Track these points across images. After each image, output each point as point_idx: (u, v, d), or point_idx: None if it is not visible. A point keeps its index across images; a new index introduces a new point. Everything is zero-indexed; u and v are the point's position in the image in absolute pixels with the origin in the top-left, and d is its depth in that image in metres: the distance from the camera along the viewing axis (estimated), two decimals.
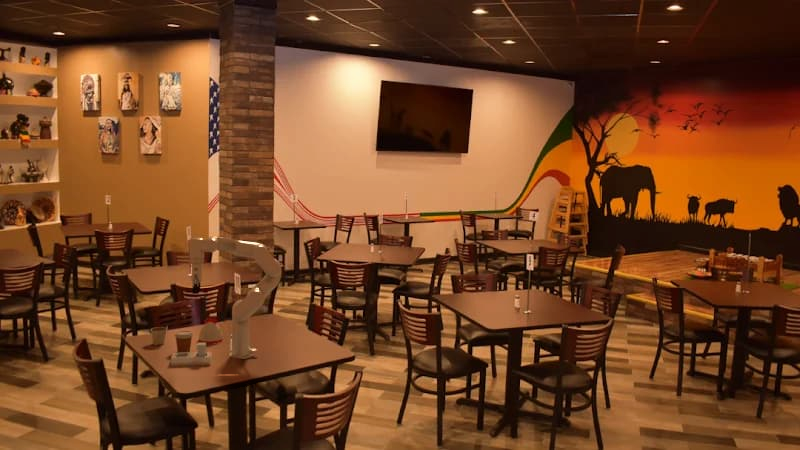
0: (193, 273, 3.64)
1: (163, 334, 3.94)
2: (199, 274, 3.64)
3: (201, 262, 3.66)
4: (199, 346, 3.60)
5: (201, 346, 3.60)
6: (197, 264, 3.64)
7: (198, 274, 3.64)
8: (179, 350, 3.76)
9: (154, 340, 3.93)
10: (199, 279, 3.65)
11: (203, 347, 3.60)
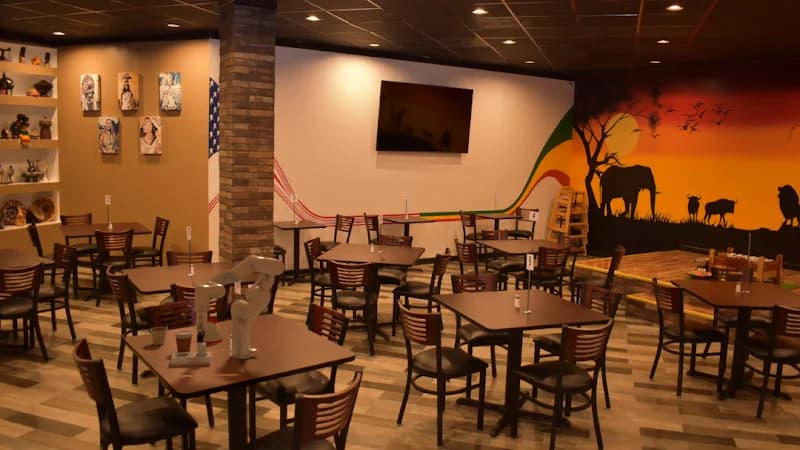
0: (198, 321, 3.55)
1: (163, 334, 3.94)
2: (204, 322, 3.56)
3: (206, 310, 3.58)
4: (199, 346, 3.60)
5: (201, 346, 3.60)
6: (202, 312, 3.56)
7: (203, 322, 3.56)
8: (179, 350, 3.76)
9: (154, 340, 3.93)
10: (204, 327, 3.56)
11: (203, 347, 3.60)
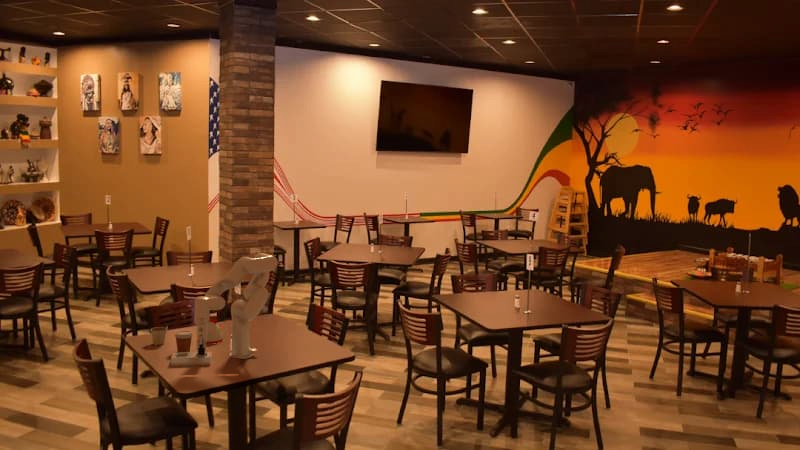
0: (198, 333, 3.56)
1: (163, 334, 3.94)
2: (204, 334, 3.57)
3: (206, 322, 3.59)
4: None
5: None
6: (202, 324, 3.57)
7: (203, 334, 3.57)
8: (179, 350, 3.76)
9: (154, 340, 3.93)
10: (204, 339, 3.57)
11: None
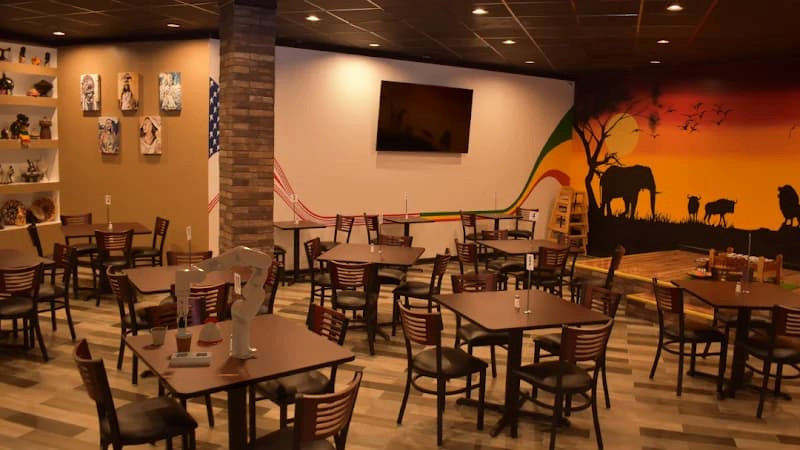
0: (178, 306, 3.52)
1: (163, 334, 3.94)
2: (185, 307, 3.53)
3: (187, 294, 3.55)
4: None
5: None
6: (183, 296, 3.53)
7: (184, 307, 3.53)
8: (179, 350, 3.76)
9: (154, 340, 3.93)
10: (185, 312, 3.53)
11: None
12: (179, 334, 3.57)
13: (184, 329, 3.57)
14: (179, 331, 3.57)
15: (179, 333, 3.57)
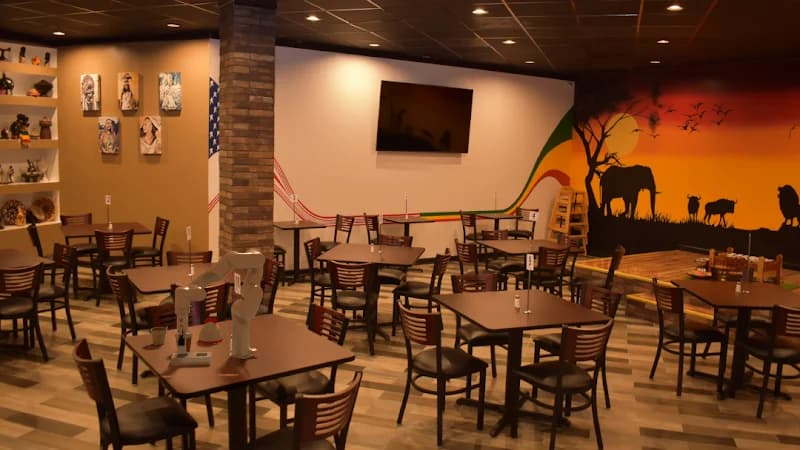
0: (178, 324, 3.53)
1: (163, 334, 3.94)
2: (184, 325, 3.54)
3: (187, 312, 3.56)
4: None
5: None
6: (182, 315, 3.54)
7: (183, 325, 3.54)
8: None
9: (154, 340, 3.93)
10: (184, 330, 3.54)
11: None
12: (179, 352, 3.58)
13: (184, 347, 3.58)
14: (179, 349, 3.58)
15: (179, 351, 3.58)
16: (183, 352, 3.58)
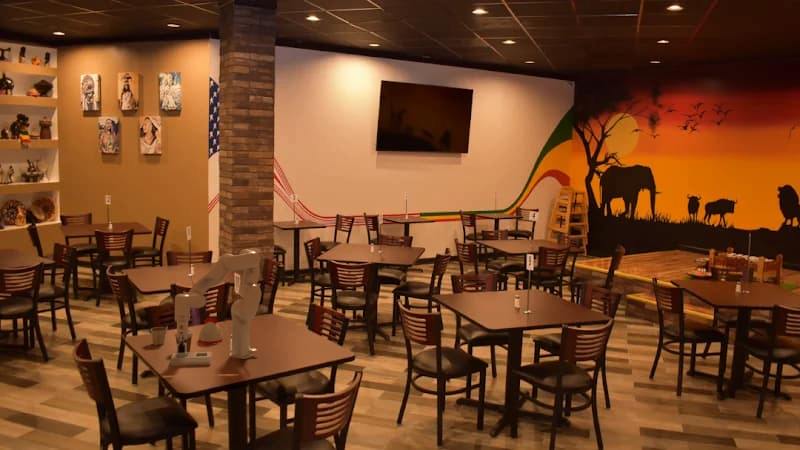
0: (178, 331, 3.54)
1: (163, 334, 3.94)
2: (184, 332, 3.55)
3: (187, 319, 3.56)
4: None
5: None
6: (182, 322, 3.55)
7: (183, 332, 3.54)
8: None
9: (154, 340, 3.93)
10: (185, 337, 3.55)
11: None
12: None
13: None
14: None
15: None
16: None
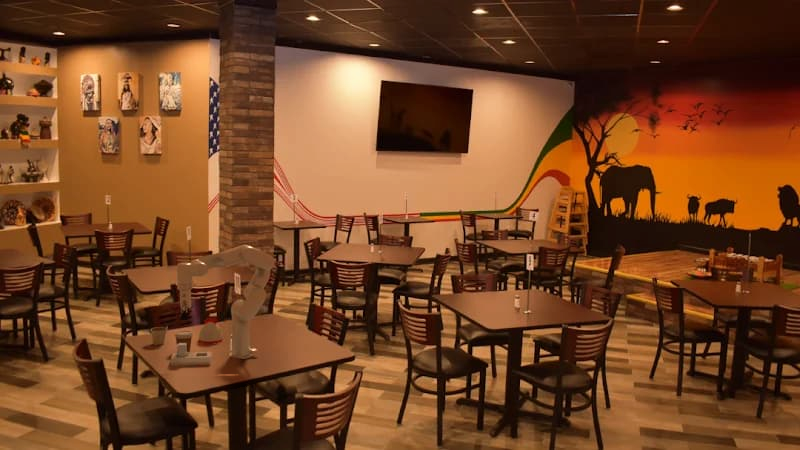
0: (181, 299, 3.54)
1: (163, 334, 3.94)
2: (187, 300, 3.54)
3: (189, 288, 3.56)
4: (179, 346, 3.58)
5: (181, 346, 3.58)
6: (185, 290, 3.54)
7: (186, 300, 3.54)
8: None
9: (154, 340, 3.93)
10: (188, 305, 3.55)
11: (183, 347, 3.58)
12: None
13: None
14: None
15: None
16: None
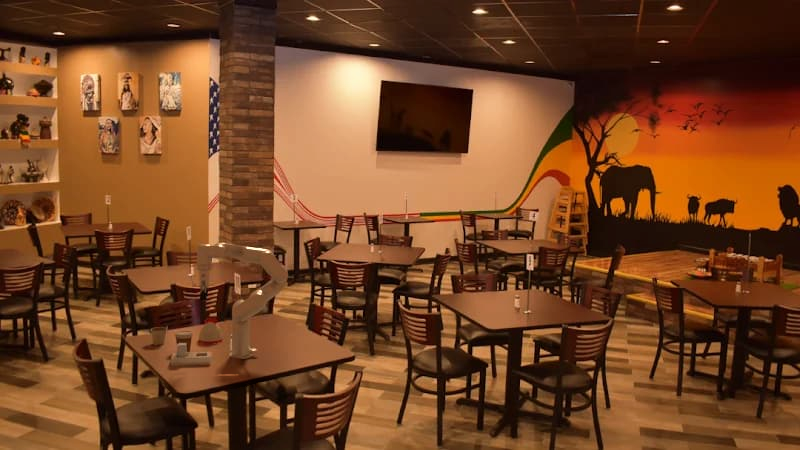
0: (200, 279, 3.65)
1: (163, 334, 3.94)
2: (206, 280, 3.66)
3: (208, 268, 3.67)
4: (179, 346, 3.58)
5: (181, 346, 3.58)
6: (204, 270, 3.66)
7: (205, 280, 3.65)
8: None
9: (154, 340, 3.93)
10: (206, 285, 3.66)
11: (183, 347, 3.58)
12: None
13: None
14: None
15: None
16: None
